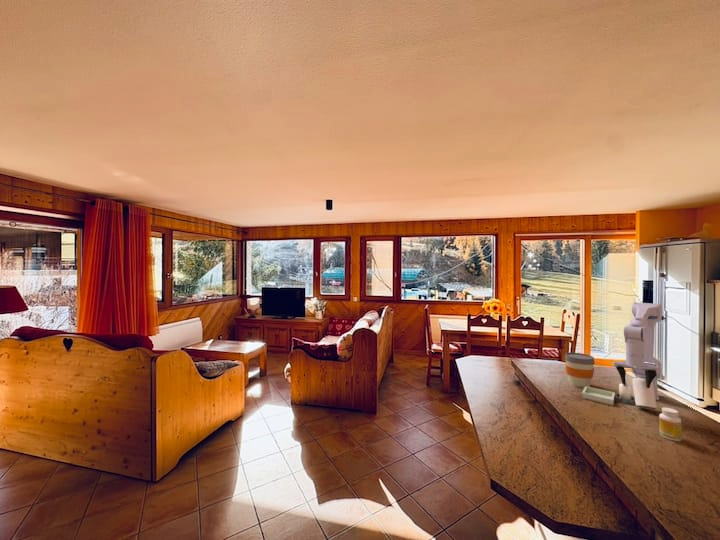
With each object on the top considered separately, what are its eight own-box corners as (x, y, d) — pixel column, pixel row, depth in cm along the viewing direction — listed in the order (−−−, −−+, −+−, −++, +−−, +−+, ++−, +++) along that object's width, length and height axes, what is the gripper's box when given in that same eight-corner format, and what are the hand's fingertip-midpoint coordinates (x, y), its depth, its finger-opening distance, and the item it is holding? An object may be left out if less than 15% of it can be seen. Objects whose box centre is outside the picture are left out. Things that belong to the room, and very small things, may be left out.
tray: (585, 391, 143) (585, 386, 143) (615, 397, 135) (614, 392, 135) (581, 398, 135) (581, 392, 135) (613, 405, 127) (613, 400, 127)
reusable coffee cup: (592, 382, 153) (592, 354, 153) (596, 391, 142) (596, 360, 142) (564, 378, 160) (563, 351, 160) (565, 385, 149) (565, 356, 149)
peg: (619, 397, 135) (619, 381, 135) (631, 400, 132) (631, 383, 132) (618, 400, 132) (618, 383, 132) (630, 403, 129) (630, 386, 129)
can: (661, 409, 119) (656, 379, 123) (642, 405, 120) (638, 375, 125) (649, 409, 124) (645, 380, 129) (632, 405, 126) (628, 377, 130)
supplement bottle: (678, 443, 99) (677, 415, 99) (656, 435, 104) (656, 408, 104) (684, 438, 102) (683, 411, 102) (662, 431, 107) (662, 405, 107)
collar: (613, 394, 138) (613, 391, 138) (638, 400, 132) (637, 396, 132) (612, 400, 132) (612, 397, 132) (637, 406, 126) (637, 402, 126)
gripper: (615, 354, 125) (616, 385, 125) (662, 359, 117) (662, 392, 117) (611, 350, 131) (611, 380, 131) (655, 354, 124) (655, 386, 124)
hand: (635, 385), depth 124 cm, fingers open, 7 cm apart
